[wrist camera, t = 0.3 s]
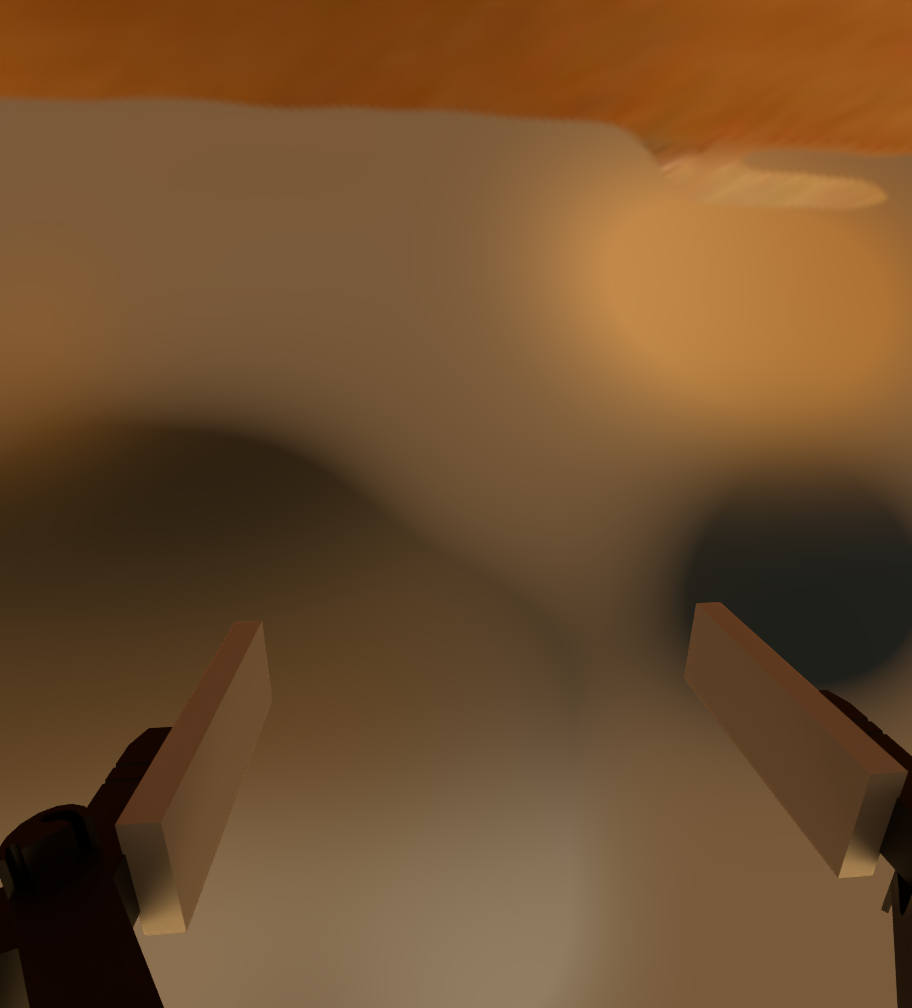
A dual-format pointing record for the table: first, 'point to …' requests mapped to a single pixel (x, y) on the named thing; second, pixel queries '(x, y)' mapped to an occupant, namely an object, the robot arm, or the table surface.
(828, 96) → the table surface
